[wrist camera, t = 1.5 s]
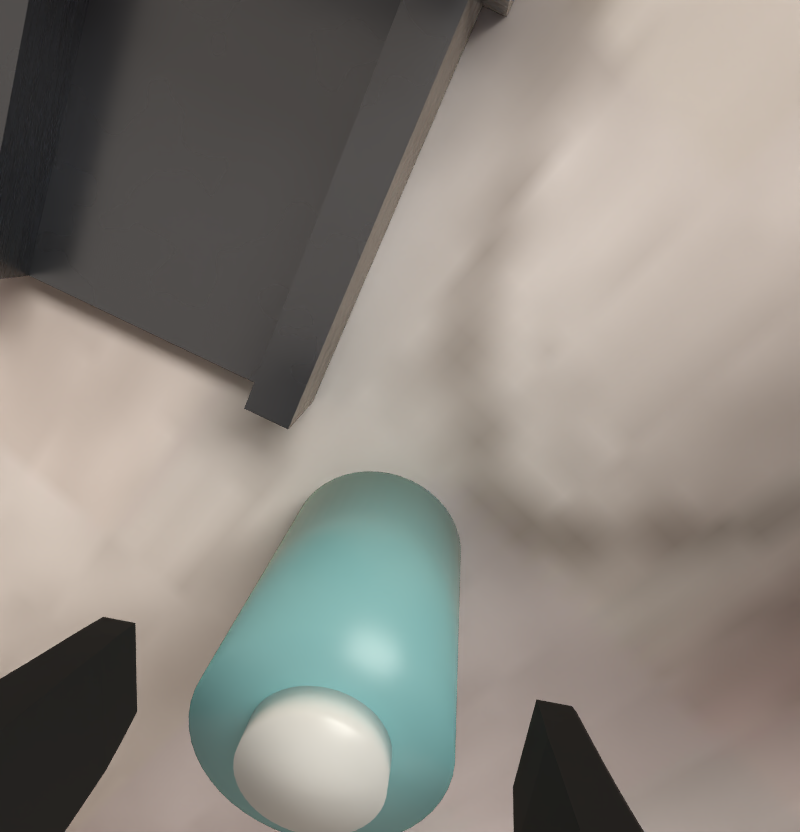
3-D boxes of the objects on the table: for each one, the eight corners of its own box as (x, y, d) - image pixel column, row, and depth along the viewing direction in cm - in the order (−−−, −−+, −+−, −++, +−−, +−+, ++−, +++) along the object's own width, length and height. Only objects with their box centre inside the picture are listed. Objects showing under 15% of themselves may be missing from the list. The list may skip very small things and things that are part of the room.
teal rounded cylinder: (491, 518, 14) (507, 743, 8) (415, 644, 16) (381, 917, 10) (330, 442, 14) (223, 612, 8) (269, 577, 16) (138, 809, 9)
